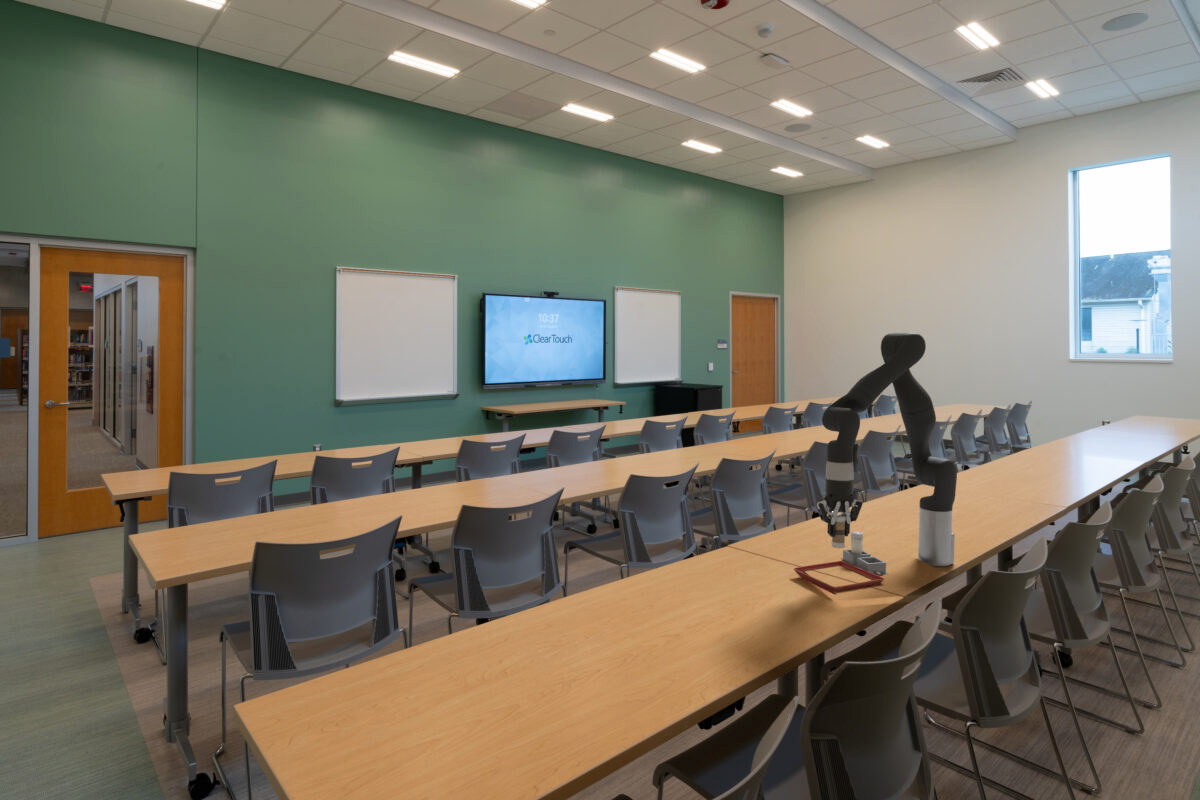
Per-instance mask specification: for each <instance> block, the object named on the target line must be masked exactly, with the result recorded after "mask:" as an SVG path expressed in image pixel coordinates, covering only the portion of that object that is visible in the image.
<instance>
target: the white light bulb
mask: <svg viewBox="0 0 1200 800" xmlns="http://www.w3.org/2000/svg"><path fill="white" fill-rule="evenodd" d="M863 542H864V533H863V532H861V531H850V549H851V554H853V555H859V554H863V551H864V549H863V548H864V547H863V545H864V543H863Z"/></svg>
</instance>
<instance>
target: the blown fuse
mask: <svg viewBox="0 0 1200 800" xmlns="http://www.w3.org/2000/svg"><path fill="white" fill-rule="evenodd" d="M845 521H846V516H844V515H842V514H841V513H838V515H837V517H836V519H835V523H834V524H835V537H831V547H832V548H837V549H844V548H845V547H846V540H845V539H846V536H845Z"/></svg>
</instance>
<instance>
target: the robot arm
mask: <svg viewBox="0 0 1200 800" xmlns="http://www.w3.org/2000/svg"><path fill="white" fill-rule="evenodd" d="M926 347H927V345H926V341H925V338H924V337H923V336H922V335H921V334H919V333H918V332H890V333H887V334H885V335H884V336H883V337H882V339H881V344H880V352H881V353H880V354H881V357H882V360H883V364H882V365H880V366H878V367H877V368H875V369H873V370H872V371H870V372H868V373H867V374H865V375H864V376H862V377H861V378H860V379H859V380H858V381H857V382H856V383H855V384H854V385H853V386H852V388H850V389H849V391H848V392H847V393H846V394H845V395H843V396H841V397H840V398H838V399H837V400H835V401H834V402H833V403H831V404H830V405H829V406H828V407H826V409H825V410H824V412H823V413H822V418H821V423H822V425H823V427H824V428H825V429H826V430H828V431H830V432H836V433H838V435H837V437H836V439H832V440H830V441H828V443H827V445H826V446H827V447H826V465H825V466H826V467H825V497H824V500H822V501H816V502H815V507H816V509H817V512H818V515H819V518H820V521H823V522H824V523H825V524H827V528H826V529H827V530H826V531H827V535H829V536H830V537H831V538H832V537H835V524H834V523H835V519H836V517H837V515H838V514H842V515H844V516H846V521H845V537H848V536H849V534H851V531H850V530H851V523H852V522H856V521H857V520H858V517H859V515H860V511H861V510H862V507H863V501H861V500H858V499H854V496H853V494H854V480H855V477H854V476H855V468H854V446H855V444H856V441H857V437H858V434H859V430H860V425H861V418H860V415H859V413H863V412H865V411H867V410H868V408H870V406H872V404H873V403H874V402H875V401H876V400H877V399H878V398H879V396H881V394H882V393H883V392H884V391H885V390H886V389H887V388H888V387H889V386H890V385H891V384H892V387H893V389H894V393H895V396H896V399H897V403H898V406H899V407H898V408H899V411H900V415H901V419H902V421H903V425H904V428H905V431H906V436H907V440H908V444H909V450H910V455H911V456H910V457H911V462H912V469H913V472H914V476H915V479H916V481H917V482H918V483H919V484H922V485H924V486H928V487H934V489H933V493H932V494H931V495H927V496H923V497H921V498H920V499H919V507H918V508H919V510H918V511H919V512H918V518H919V520H918V546H917V549H918V551H917V552H918V554H917V555H918V556H917V559H918V561H920V562H923V563H925V564H927V565H929V566H933V567H947V566H950V565H953V564H955V542H956V541H955V537H956V535H955V533H953V507H954V503H955V499H956V490H957V489H956V488H957V479H958V471H957V470H958V469H957V466H956V464H955V462H954V461H953V460H951V459H948V458H943V457H935V456H933V455H932V453H931V449H930V443H929V440H930V436H931V435H932V433H933V430H934V429H935V428H934V427H935V426H936V425H935V424H936V422H937V416H936V412H935V408H934V404H933V401H932V398H931V396H930V394H929V393H928V392H927V390H926V389H925V388H924V387H923V386H922V385H921V383H919V381H917V379H916V378H915V377H914V375H913V373H912V372H911V369H910V368H912V367H914V365H916V364H917V363H919V361H921V359H922V358H923V357H924V356H925V352H926ZM851 506H852V507H851ZM827 507H828V508H827ZM826 508H827V510H826Z"/></svg>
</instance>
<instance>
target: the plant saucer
mask: <svg viewBox="0 0 1200 800" xmlns="http://www.w3.org/2000/svg"><path fill="white" fill-rule="evenodd" d="M834 567H843V568H845V569H847V570H850V571H852V572H855V573H857V574H859V575H861V576H864V577H866V578H868V579H870V580H867V581H863V582H856V583H850V584H845V585H840V586H839V585H838V586H833V585H831V584H828V583H827V582H825V581H822V580H820V579H818V578H816V577H813V575H812V576H811V575H810V574H808V573H807V572H808V571H809V572H810V571H815V570H821V569H827V568H834ZM793 570H794V571H795V572H796V574H797V575H798V577H800V578H801V579H802V580H804V581H805V582H808V583H810V584H812V585H814V586H816V587H818V588H820V589H822V590H824V591H827V592H829V593H831V594H833V595H836V592H839V591H843V590H850V589H855V588H861V587H867V586H872V585H873V586H874V585H880V584H881V583H882V582H884V580H885V578H884V577H882V576H881V575H875V574H873V573H870V572H868V571H865V570H863V569H861V568H858V567H856V566H853V565H851V564H849V563H847V562H845V561H844V560H836V561H830V562H825V563H824V562H823V563H818V564H811V565H803V566H798V567H794V568H793ZM806 571H807V572H806Z"/></svg>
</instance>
